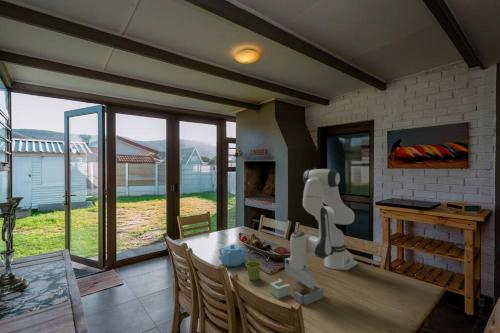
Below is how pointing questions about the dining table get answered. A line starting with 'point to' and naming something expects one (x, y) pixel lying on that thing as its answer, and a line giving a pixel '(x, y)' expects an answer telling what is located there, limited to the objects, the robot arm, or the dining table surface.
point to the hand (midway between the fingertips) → (299, 289)
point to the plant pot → (253, 270)
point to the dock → (309, 296)
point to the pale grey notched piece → (279, 289)
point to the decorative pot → (232, 255)
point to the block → (303, 289)
